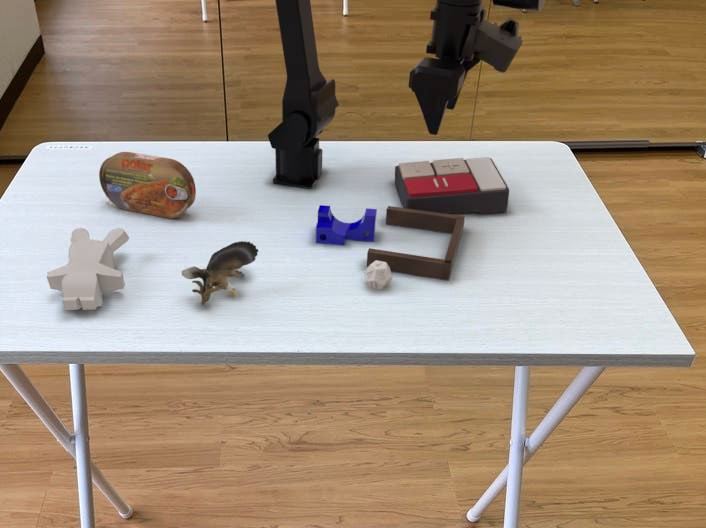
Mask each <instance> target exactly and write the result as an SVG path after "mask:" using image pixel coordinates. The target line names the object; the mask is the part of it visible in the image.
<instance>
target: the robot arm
mask: <svg viewBox="0 0 706 528" xmlns="http://www.w3.org/2000/svg"><path fill="white" fill-rule="evenodd" d="M274 2H275V7H276V15H277V21H278V27H279V28H278V29H279V34H280V40H281V47H282V53H283V59H284V67H285V72H286V81H285V85H284V89H283V96H282V100H281V103H282V104H281V108H282V109H281V112H282V113H281V114H282V117H281V119H282V122H280V123H279V124H278V125H277V126H276V127H274V129H272V130H271V131H270V132H269V133H268V134H267V138H268V141H269V144H270V147H271V148H272V149H274V150H275V175H274V177H273V178H272V184H276V185H283V186H290V187H296V188H297V187H298V188H303V189H304V188H306V189H312V188H313V187H314V186H315V183H316V182H317V181H318V180H319V178H320V177H321V175H322V174H323V149H322V148H320V138H319V137H318V136H319V135H321V134H322V133H323V132H324V129H325V128H326V127H327V126H328V125H329V124H330V123H331V122H332V121H333V119H334V117H335V114H336V109H337V108H338V107H339V106H340V104H339V101H338V100H337V95H336V81H335V80H336V79H334V78H332V79H326V78H325V76H324V75H323V73H322V71H321V70H320V66H319V58H318V50H317V44H316V35H315V34H316V33H315V27H314V21H313V12H312V5H311V0H274ZM483 2H484V0H435V3H434V4H435V6H434V7H433V8H432V9H431V10H430V15H429V20H431V21H433V22H432V28H431V29H432V30H431V38H430V41H429V42H427V44H426V48H425V54H429V55H435V56H434V57H429V56H424V57H423V58H422V59H421V60H419V61H418V62H417V63H416V64H415V65H414V66H413V68H412V69H411V70H410V71H409V77H408V78H409V79H408V88H409V89H411V92H412V93H414V95H415V98H416V101H417V103H418V105H419V108H420V112H421V113H422V116H423V120H424V123H425V125H426V128H427V131H428V134H429V135H432V136H437V135H438V134H439V131H440V129H441V126H442V123H443V119H444V116H445V113H446V110H451V111H453V110H455V107H456V106H457V103H458V100H459V97H460V94H461V92H462V89H463V86H464V84H465V82H466V79H467V76H468V74H469V71H470V70H472V69H473V68H474V67H476V66H477V65H478V64H479V63H480V62H481V61H482V62H484V63H486V64H488V65H489V66H491V67H493V69H494V70H495V71H497V72H498V73H502V74H504V73H506V72H507V71H508V69H509V68H510V66H511V64H512V62H513V60H515V57H516V55H517V53H518V52H519V51H520V48H521V46H522V45H523V36H521V35H519V27H520V23H519V21H517V20H516V19H514V18H512V17H508V18H506V19H505V20H504V21H502V22H501V23H500V24H499V25H498V22H496V21H494V23H492V22H490V21H488V20H486V15H487V9H485V5H483ZM545 3H546V0H492V5H493V6H495V7H502V8H503V7H504V8H510V9H515V10H517V9H518V10H522V11H529V12H530V11H531V12H537V13H541V12H542V10H543V9H544V5H545Z"/></svg>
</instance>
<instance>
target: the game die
mask: <svg viewBox="0 0 706 528" xmlns="http://www.w3.org/2000/svg"><path fill="white" fill-rule="evenodd" d="M363 274H364V277H365V282H366V283H367V284H368V286H369V288H372V289H377V290H382V289H383V288H385V287H386V286H387V285H388V283H390V281H391V280H392V279H393V274H392V272H391V270H390V268H389V266H388V264H387V263H386V262H382V261H377V260H376V261H374V262H373V263H372V264H370V265H369V267H368V268H367V267H366V269H365V270H364V272H363Z"/></svg>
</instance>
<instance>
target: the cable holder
mask: <svg viewBox="0 0 706 528" xmlns="http://www.w3.org/2000/svg"><path fill="white" fill-rule="evenodd" d="M377 213H378V209H377V208H365V212H364V214H363V216H362V217H361V218H360V219H358V220H356V221H354V222H344V221H341V220H339V219H338V218H337V217H336V216H335V215H334V214H333V213H332V209H331V205H323V204H319V206H318V209H317V221H316V227H315V244H325V245H336V246H337V245H339V246H345V243H346V241H356V242H357V241H359V242H373V243H374V242H375V237H376V229H377V215H378V214H377Z"/></svg>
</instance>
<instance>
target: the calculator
mask: <svg viewBox="0 0 706 528" xmlns="http://www.w3.org/2000/svg"><path fill="white" fill-rule="evenodd" d="M394 186H395V189H396V191H397V192H396V193H398V197H399V200H400V203H401V206H402V208H407V209H415V210H422V211H429V212H436V213H444V214H457V213H470V212H477V213H479V214H480V215H488V214H489V215H490V214H501V213H507V211H508V205H509V196H510V188H509V186H508V184H507V183H506V181H505V179H504V178H503V176H502V174H501V172H500V170H499V169H498V167H497V166H496V163H495V162H494V159H492V158H491V157H489V156H483V157H471V158H465V159H464V158H463V157H457V158H445V159H434V160H432V162H430V160H423V161H422V160H421V161H411V162H410V161H409V162H400V163H398V165H395V166H394Z"/></svg>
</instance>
